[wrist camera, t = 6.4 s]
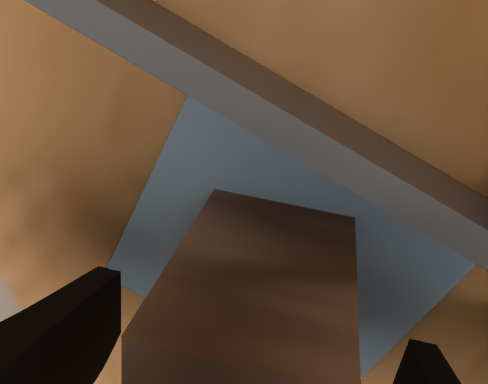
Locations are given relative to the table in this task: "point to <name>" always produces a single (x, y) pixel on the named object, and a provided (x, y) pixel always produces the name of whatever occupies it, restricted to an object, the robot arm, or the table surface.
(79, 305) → the robot arm
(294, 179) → the mat
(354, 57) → the table surface
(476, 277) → the table surface
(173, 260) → the walnut block
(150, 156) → the table surface
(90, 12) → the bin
